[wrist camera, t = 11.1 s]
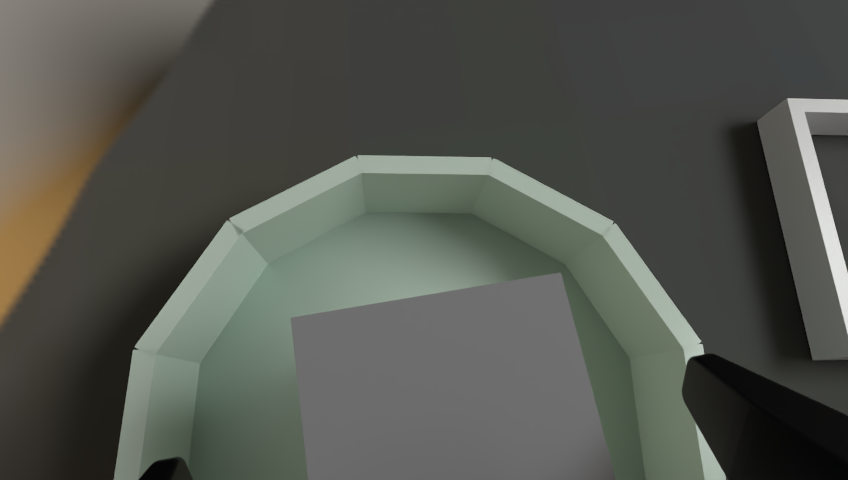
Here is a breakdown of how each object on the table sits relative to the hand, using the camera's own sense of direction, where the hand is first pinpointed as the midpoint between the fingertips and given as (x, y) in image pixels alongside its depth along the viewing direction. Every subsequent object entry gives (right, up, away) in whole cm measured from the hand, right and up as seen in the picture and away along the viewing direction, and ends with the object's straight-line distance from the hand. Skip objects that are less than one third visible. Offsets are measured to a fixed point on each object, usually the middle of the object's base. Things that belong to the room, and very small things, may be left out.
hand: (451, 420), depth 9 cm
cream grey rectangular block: (-1, -3, +8) cm, 9 cm away
